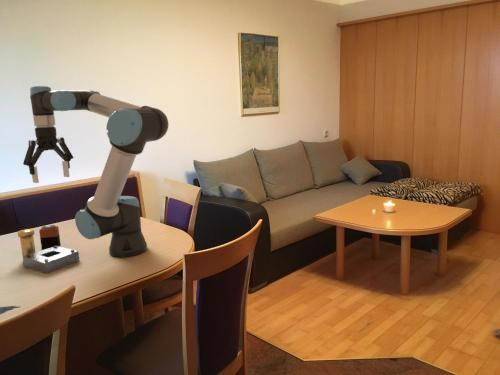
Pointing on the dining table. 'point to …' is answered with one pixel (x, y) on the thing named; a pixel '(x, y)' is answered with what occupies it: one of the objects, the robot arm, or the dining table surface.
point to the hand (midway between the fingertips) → (51, 179)
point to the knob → (27, 241)
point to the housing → (51, 259)
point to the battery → (49, 237)
